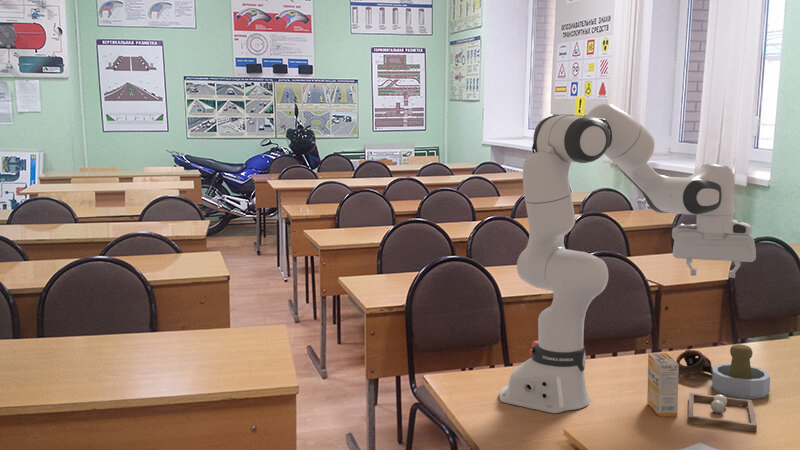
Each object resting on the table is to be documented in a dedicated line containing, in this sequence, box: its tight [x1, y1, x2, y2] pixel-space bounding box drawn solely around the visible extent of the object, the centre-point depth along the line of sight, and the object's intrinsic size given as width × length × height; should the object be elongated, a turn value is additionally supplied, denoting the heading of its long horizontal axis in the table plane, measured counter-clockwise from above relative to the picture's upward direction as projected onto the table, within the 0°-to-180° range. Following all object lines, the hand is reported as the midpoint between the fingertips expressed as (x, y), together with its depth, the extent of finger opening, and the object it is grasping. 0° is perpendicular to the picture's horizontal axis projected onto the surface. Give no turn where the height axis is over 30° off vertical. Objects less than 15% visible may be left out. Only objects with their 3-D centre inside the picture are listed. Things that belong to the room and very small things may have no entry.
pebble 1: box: [714, 393, 727, 406], centre depth 164 cm, size 3×3×3 cm
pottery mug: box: [675, 349, 713, 377], centre depth 187 cm, size 12×10×8 cm
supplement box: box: [646, 352, 679, 417], centre depth 163 cm, size 8×5×13 cm, turn 178°
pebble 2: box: [710, 400, 726, 414], centre depth 161 cm, size 3×3×3 cm
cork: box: [729, 343, 753, 379], centre depth 174 cm, size 6×6×11 cm
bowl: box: [711, 362, 771, 400], centre depth 175 cm, size 13×13×5 cm
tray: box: [687, 392, 758, 433], centre depth 160 cm, size 14×16×2 cm
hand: (712, 276), depth 180 cm, fingers open, 8 cm apart
